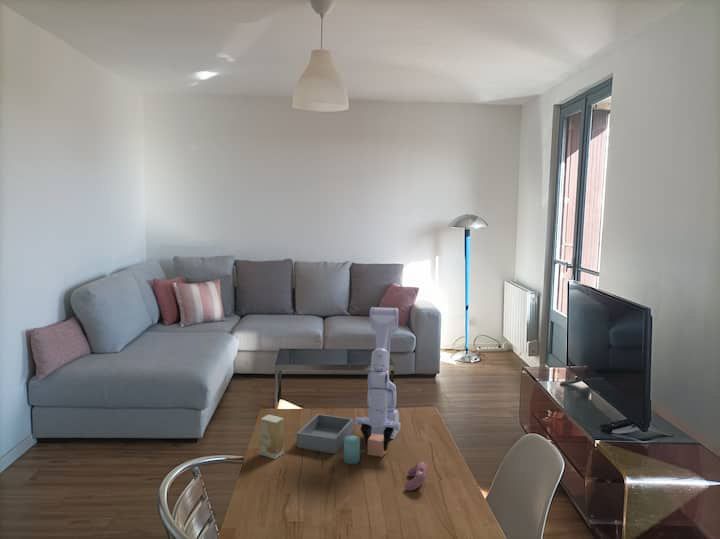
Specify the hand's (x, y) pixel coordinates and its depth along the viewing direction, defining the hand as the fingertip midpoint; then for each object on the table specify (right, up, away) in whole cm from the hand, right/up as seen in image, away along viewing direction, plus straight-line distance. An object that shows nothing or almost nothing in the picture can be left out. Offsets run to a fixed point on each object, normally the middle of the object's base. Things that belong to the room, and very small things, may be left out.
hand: (377, 448), depth 178 cm
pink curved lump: (+11, -4, -19) cm, 22 cm away
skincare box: (-34, -2, -2) cm, 34 cm away
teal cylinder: (-8, -2, -5) cm, 10 cm away
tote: (-17, 0, +9) cm, 19 cm away
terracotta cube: (0, -1, 0) cm, 1 cm away
